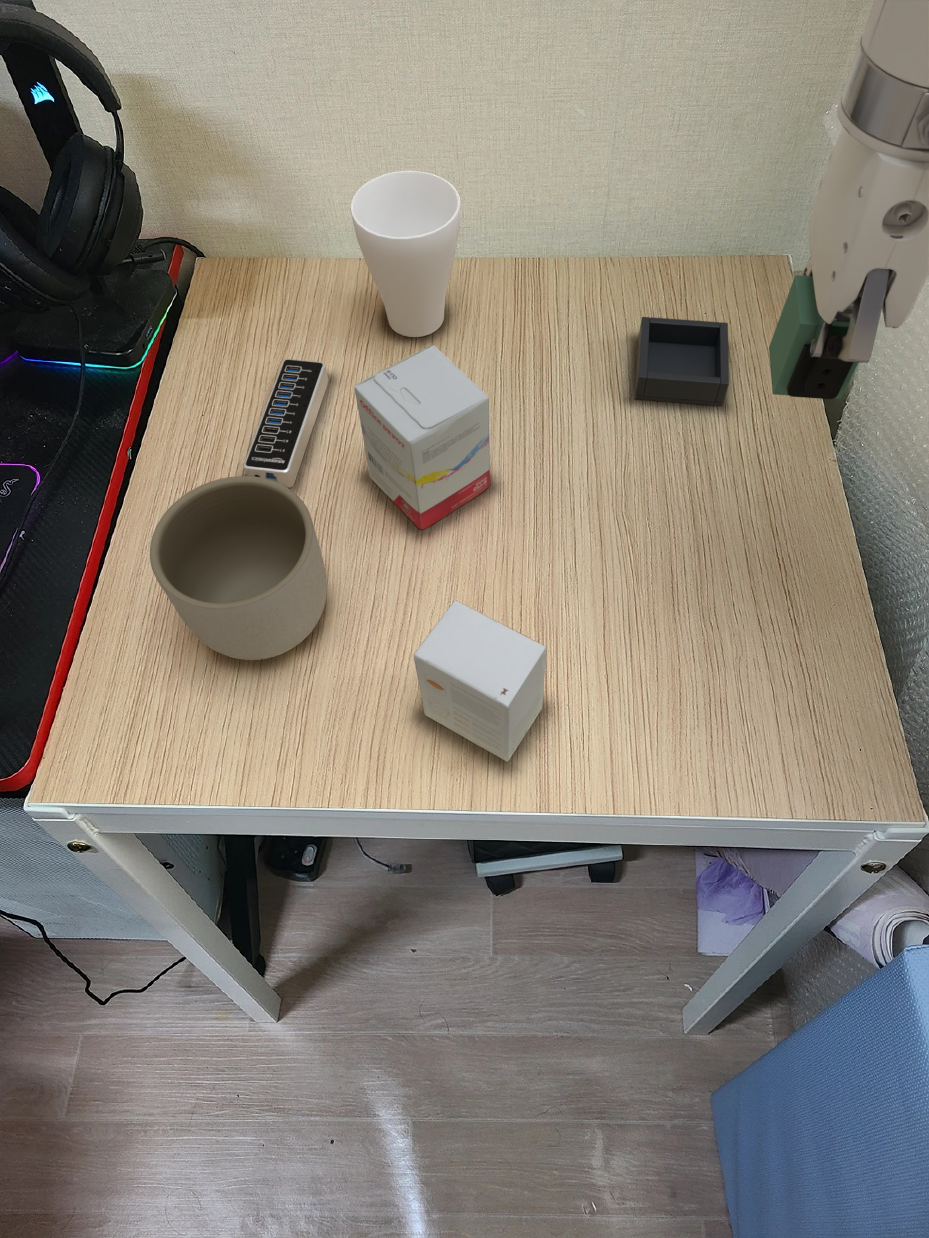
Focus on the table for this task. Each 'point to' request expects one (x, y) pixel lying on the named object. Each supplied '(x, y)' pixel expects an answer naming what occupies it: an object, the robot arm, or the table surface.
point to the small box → (481, 679)
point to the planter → (242, 566)
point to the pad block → (798, 334)
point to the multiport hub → (287, 421)
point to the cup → (409, 245)
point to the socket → (682, 361)
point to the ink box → (425, 435)
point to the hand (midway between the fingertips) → (808, 364)
